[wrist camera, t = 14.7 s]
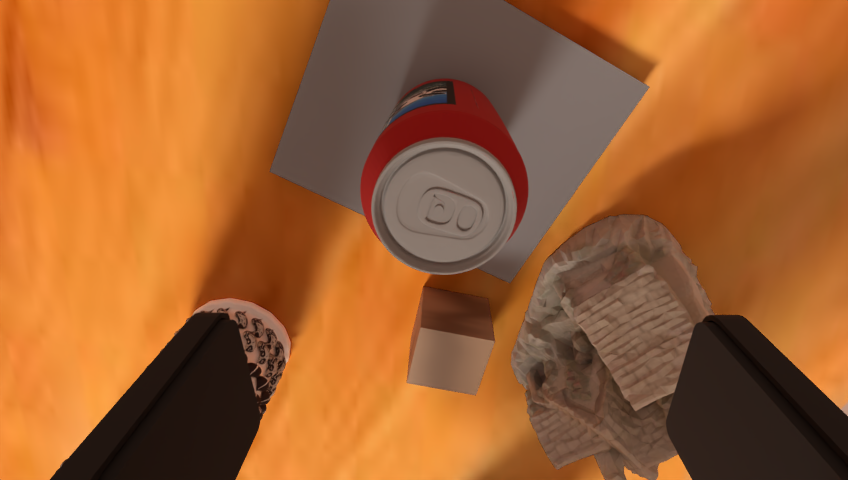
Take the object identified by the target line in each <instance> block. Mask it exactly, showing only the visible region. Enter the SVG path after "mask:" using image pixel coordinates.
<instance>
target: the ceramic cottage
mask: <svg viewBox="0 0 848 480" xmlns="http://www.w3.org/2000/svg"><path fill="white" fill-rule="evenodd" d="M711 304H712V303H711V302H710V300H709V299H708V297H707V295H706V292H705V290H704V289H703V288H702V286H701V285H700V283H699V281H698V279H697V266H695V265H694V264H692V263H691V259H690V258H689V257H687V256H686V255H685V254H684V253H683V252H682V248H681V245H680V244H679V243H678V241H677V240H676V239H675V238H674V236H673V235H672V234H671V233H670V232H669V230H668V229H667V228H666V227H665V226H664V225H663V224H662V223H660V222H658V221H655V220H653V219H651V218H650V217H648V216H644V215H627V214H623V215H618V216H608V217H607V218H604V219H602V220H600V221H598V222H596V223H594V224H591V225H589V226H587V227H585V228H583V229H582V230H581V231H580V232H578V233H577V234H575V235H574V236H572V237H571V238H570V239H568V240H567V241H566V242H565V243H564V244H562V245H561V246H560V248H559V249H557V250H556V252H555V253H553V254H552V255H551V256H550V257H548V258H547V260H546V261H545V262H544V264H543V267H542V270H541V272H540V275H539V277H538V280H537V283H536V286H535V289H534V292H533V296H532V298H531V301H530V303H529V306H528V310H527V311H526V313H525V320H524V322H523V323H522V326H521V329H520V332H519V335H518V339H517V340H516V344H515V346H514V349H513V351H512V356H511V365H512V368H513V371H514V374H515V376H516V378H517V380H518V382H519V383H520V384H522V385H523V386H524V388H525V389H527V391H526V393H525V395H526V401H527V405H528V409H527V413H528V414H529V415H530V421H531V424H532V426H533V428H534V430H535V431H536V433H537V436H538V439H539V441H540V443H541V445H542V447H543V449H544V451H545V453H546V455H547V456H548V458H549V459H550V461H551V462H552V464H553V465H554V467H555V468H556V469H560V468H561V467H563V466H565V465H568V464H570V463H572V462H575V461H577V460H579V459H582V458H585V457H588V456H591V455H594V456H595V459H596V461H597V463H598V466H599V468H600V470H601V473H602V475H603V477H604V479H605V480H626V477H625V475H624V466H625V467H626V468H627V469H628V470H631V471H632V473H634V474H638V475H639V476H640V477H644V478H647V479H648V480H656V479H657V477H658V470H657V469H658V465H659V463H661V462H664V461H667V460H668V459H670V458H672V457H674V456H675V455H677V454H678V453H677V451H676V449H675V447H674V445H673V444H672V442H671V440H670V438H669V436H668V433H667V428H666V419H667V415H668V412H669V408H670V405H671V402H672V398H673V395H674V392H675V388H676V385H677V382H678V379H679V375H680V372H681V369H682V365H683V362H684V359H685V355H686V352H687V349H688V345H689V342H690V339H691V335H692V332H693V329H694V327H695V325H696V324H697V323H699V322H702V321H703V319H704V318H705V317H706V316H708V315H715V314H714V313H713V311H712V309H711V307H710V306H711Z"/></svg>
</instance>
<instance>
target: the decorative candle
mask: <svg viewBox="0 0 848 480" xmlns="http://www.w3.org/2000/svg"><path fill="white" fill-rule="evenodd" d="M199 312H208V313H226V314H227V315H228V316H229V318H230V320H235V321H236V322H237V324H238V327H239V331H240V335H241V339H242V343H243V347H244V351H245V355H246V359H247V363H248V367H249V371H250V375H251V379H252V383H253V387H254V391H255V395H256V399H257V403H258V407H259V411H260V420H261V419H262V416H263V414H264V413H265V411H266V405H265V404H267V403H268V402H269V401H270V397H271V396H272V395H273V394H274V392H275V390H276V385H277V384H278V382H279V380H280V378H281V377H282V373H283V370H284V368H285V365H286V363H287V361H288V360H289V357H290V347H291V341H290V339H289V336H288V334H287V331H286V329H285V327H284V326H283V324H282V323H281V322H280V321H279V320H278V319H277V318H276V317H275V316H274V315H273V314H272V313H271V312H269V311H268V310H266V309H264V308H262V307H260V306H258V305H256V304H255V303H253V302H249V301H244V300H239V299H234V298H226V299H218V300H211V301H209V302H208V303H206V304H204V305H203V306H201V307H199V308H198V309H196V310H195V311H194V313H193V315H194V314H195V313H199ZM193 315H192V316H193ZM189 319H190V318H188V319H187V320H186V322H187V321H188V320H189ZM179 330H180V329H179ZM177 333H178V331H177V332H176V333H175V335H176V334H177ZM168 343H169V342H168ZM168 343H167V344H168ZM162 350H163V349H162ZM162 350H161V351H162ZM161 351H160V352H161ZM147 367H148V366H147ZM66 461H67V460H65V461H64V462H63V463H62V464H61V466H62V465H63V464H64V463H65V462H66ZM61 466H60V467H61ZM59 469H60V468H59ZM59 469H58V470H59ZM58 470H57V471H58ZM57 471H56V472H57Z"/></svg>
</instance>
